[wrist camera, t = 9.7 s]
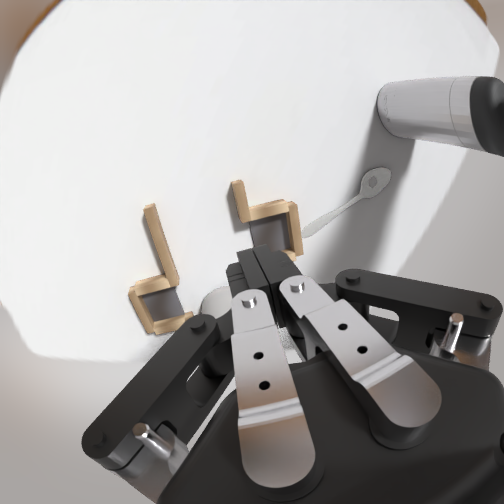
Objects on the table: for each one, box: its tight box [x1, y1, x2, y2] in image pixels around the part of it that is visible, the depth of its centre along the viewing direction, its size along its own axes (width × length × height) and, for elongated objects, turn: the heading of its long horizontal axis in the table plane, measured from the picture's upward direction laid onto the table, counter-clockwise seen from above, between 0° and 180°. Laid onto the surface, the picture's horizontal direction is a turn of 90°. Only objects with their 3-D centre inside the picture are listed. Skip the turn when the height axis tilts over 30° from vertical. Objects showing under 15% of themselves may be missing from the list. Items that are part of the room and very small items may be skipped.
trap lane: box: [128, 180, 303, 335], centre depth 37 cm, size 25×23×3 cm
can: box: [202, 286, 235, 377], centre depth 35 cm, size 8×8×12 cm
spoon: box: [301, 167, 391, 238], centre depth 38 cm, size 4×21×2 cm, turn 125°
